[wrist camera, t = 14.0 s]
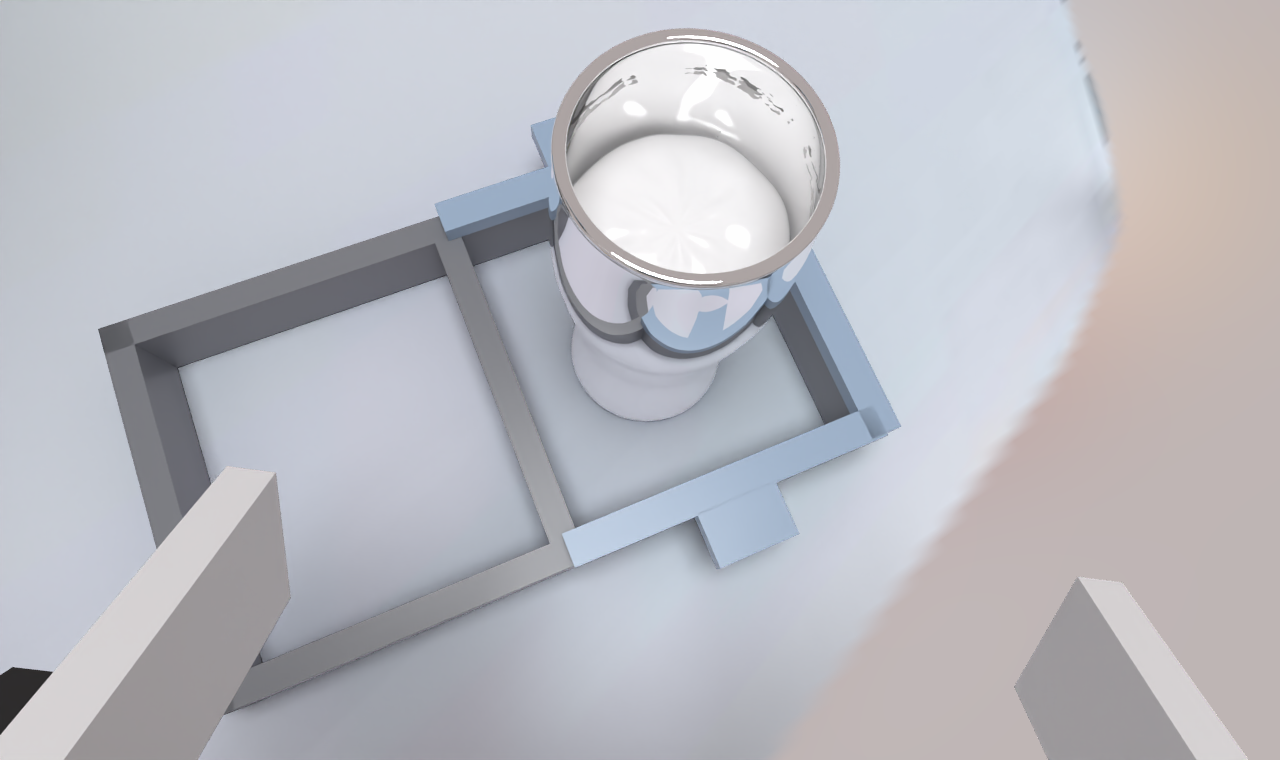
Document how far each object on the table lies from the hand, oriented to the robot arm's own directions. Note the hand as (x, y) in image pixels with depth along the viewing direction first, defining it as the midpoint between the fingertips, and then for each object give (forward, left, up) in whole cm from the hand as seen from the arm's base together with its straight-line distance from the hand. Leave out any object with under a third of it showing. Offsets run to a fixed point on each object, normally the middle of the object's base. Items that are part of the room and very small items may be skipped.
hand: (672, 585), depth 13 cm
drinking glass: (-8, +4, -17) cm, 19 cm away
